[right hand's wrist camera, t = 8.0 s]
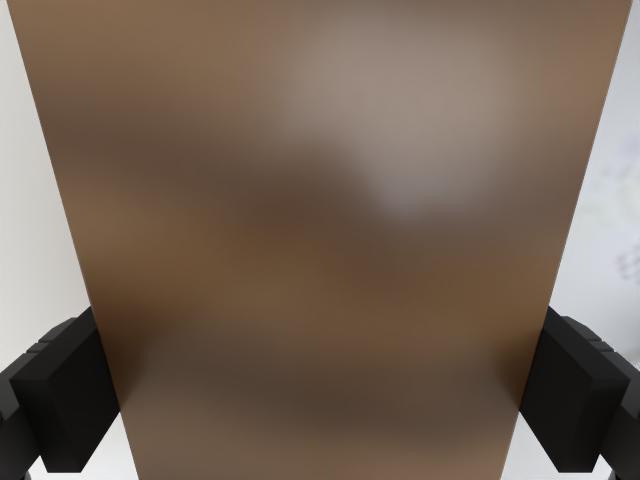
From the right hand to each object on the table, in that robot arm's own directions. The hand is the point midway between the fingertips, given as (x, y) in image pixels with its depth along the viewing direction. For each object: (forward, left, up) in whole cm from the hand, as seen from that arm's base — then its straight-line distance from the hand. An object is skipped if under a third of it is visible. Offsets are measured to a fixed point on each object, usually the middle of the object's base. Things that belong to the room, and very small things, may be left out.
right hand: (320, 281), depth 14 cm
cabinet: (+3, +4, -5) cm, 7 cm away
